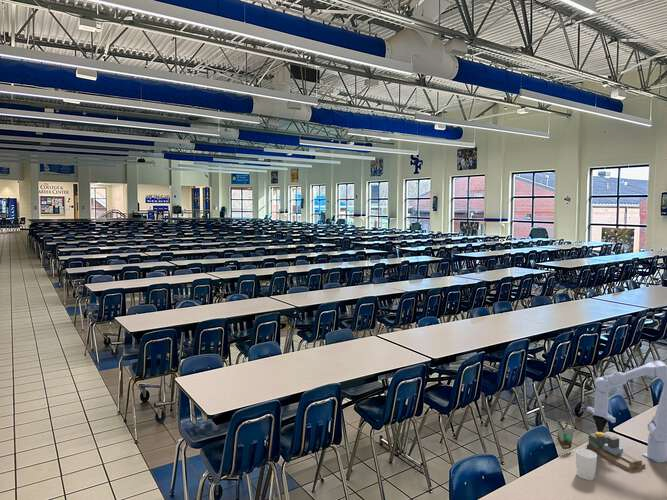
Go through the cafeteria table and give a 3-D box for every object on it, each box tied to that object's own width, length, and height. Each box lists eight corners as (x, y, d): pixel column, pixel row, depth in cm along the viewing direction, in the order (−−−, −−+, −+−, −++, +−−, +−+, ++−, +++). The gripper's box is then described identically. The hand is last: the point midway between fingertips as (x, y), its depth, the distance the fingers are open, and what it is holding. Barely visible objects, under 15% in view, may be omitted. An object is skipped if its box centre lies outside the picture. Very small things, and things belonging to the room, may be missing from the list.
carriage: (611, 448, 223) (612, 434, 222) (622, 454, 217) (623, 440, 217) (603, 449, 221) (603, 435, 221) (614, 456, 215) (615, 441, 215)
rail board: (603, 444, 230) (603, 431, 230) (645, 467, 209) (645, 453, 209) (586, 447, 227) (587, 434, 227) (627, 470, 206) (628, 456, 206)
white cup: (578, 469, 207) (579, 446, 207) (598, 476, 202) (599, 453, 201) (572, 475, 202) (573, 452, 201) (592, 483, 196) (593, 459, 196)
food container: (577, 451, 223) (578, 430, 223) (563, 450, 224) (564, 429, 224) (569, 439, 235) (570, 420, 235) (556, 438, 236) (557, 418, 236)
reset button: (599, 441, 229) (599, 431, 228) (606, 444, 225) (606, 435, 225) (592, 442, 227) (593, 432, 227) (599, 446, 224) (600, 436, 223)
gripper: (582, 398, 231) (581, 426, 231) (607, 410, 217) (606, 439, 218) (593, 397, 233) (592, 424, 234) (619, 408, 219) (618, 437, 220)
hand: (600, 431), depth 226 cm, fingers closed
